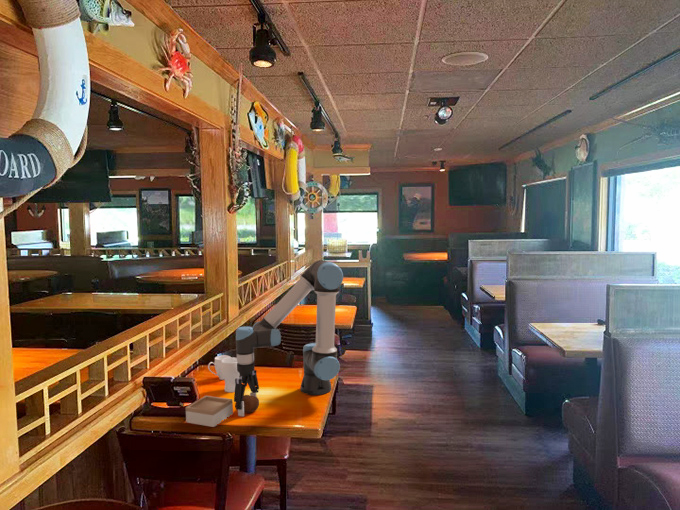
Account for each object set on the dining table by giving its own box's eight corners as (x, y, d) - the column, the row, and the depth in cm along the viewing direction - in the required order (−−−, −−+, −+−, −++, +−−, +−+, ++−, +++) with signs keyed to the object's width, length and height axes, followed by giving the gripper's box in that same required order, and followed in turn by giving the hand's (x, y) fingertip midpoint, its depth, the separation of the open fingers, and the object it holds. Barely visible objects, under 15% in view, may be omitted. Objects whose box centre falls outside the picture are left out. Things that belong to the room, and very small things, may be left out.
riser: (233, 413, 219) (232, 399, 219) (213, 427, 207) (213, 411, 206) (206, 409, 225) (205, 395, 224) (186, 422, 212) (185, 407, 211)
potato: (262, 412, 220) (261, 396, 220) (238, 418, 215) (238, 401, 214) (255, 406, 228) (255, 390, 227) (233, 411, 222) (232, 394, 222)
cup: (238, 394, 243) (236, 364, 241) (217, 392, 245) (216, 363, 243) (246, 386, 253) (245, 357, 251) (227, 385, 255) (225, 356, 254)
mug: (228, 374, 271) (227, 354, 270) (233, 379, 264) (232, 358, 263) (206, 379, 265) (205, 358, 264) (211, 383, 258) (210, 362, 257)
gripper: (251, 354, 231) (253, 400, 233) (223, 369, 210) (225, 420, 212) (265, 355, 228) (267, 402, 230) (238, 370, 207) (241, 422, 210)
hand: (247, 411), depth 221 cm, fingers open, 9 cm apart
